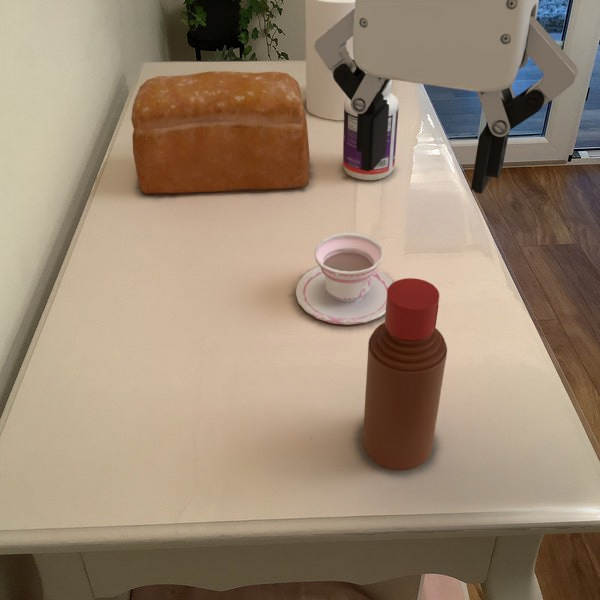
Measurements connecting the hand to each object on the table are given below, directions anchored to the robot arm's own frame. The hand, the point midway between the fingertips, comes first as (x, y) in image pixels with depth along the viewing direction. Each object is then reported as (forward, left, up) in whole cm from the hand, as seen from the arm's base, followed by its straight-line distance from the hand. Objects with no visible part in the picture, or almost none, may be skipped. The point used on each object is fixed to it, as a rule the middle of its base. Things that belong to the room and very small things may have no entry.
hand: (426, 171), depth 45 cm
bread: (+42, -40, -28) cm, 64 cm away
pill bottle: (+22, -50, -28) cm, 61 cm away
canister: (+36, -73, -28) cm, 86 cm away
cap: (0, 0, -13) cm, 13 cm away
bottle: (0, 0, -28) cm, 28 cm away
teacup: (+13, -19, -28) cm, 36 cm away
